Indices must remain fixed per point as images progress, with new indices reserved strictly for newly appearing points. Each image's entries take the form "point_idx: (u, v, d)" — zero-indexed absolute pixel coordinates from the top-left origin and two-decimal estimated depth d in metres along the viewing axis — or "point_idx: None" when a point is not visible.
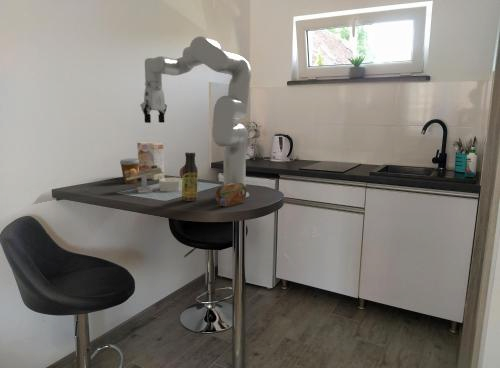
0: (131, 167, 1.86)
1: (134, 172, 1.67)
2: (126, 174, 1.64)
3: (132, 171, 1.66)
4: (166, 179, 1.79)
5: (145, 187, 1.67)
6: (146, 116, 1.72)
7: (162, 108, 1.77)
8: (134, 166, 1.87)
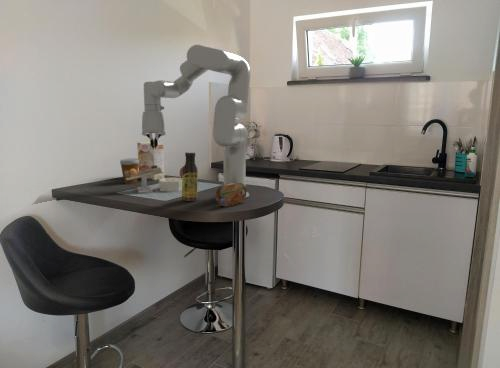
0: (131, 167, 1.86)
1: (134, 172, 1.67)
2: (126, 174, 1.64)
3: (132, 171, 1.66)
4: (166, 179, 1.79)
5: (145, 187, 1.67)
6: None
7: None
8: (134, 166, 1.87)
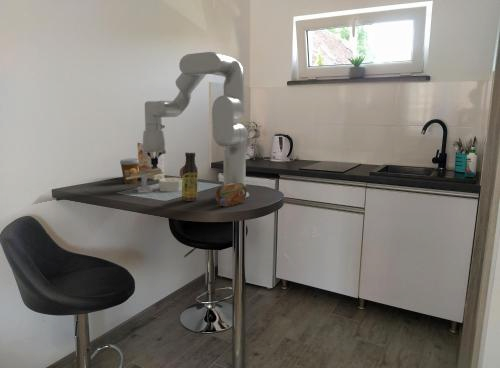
0: (131, 167, 1.86)
1: (134, 172, 1.67)
2: (126, 173, 1.64)
3: (132, 171, 1.66)
4: (166, 179, 1.79)
5: (145, 187, 1.67)
6: (157, 160, 1.79)
7: None
8: (134, 166, 1.87)
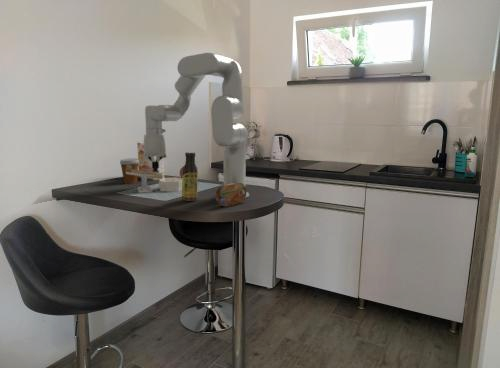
0: None
1: None
2: (128, 168, 1.64)
3: None
4: (166, 179, 1.79)
5: (145, 187, 1.67)
6: None
7: None
8: (134, 166, 1.87)
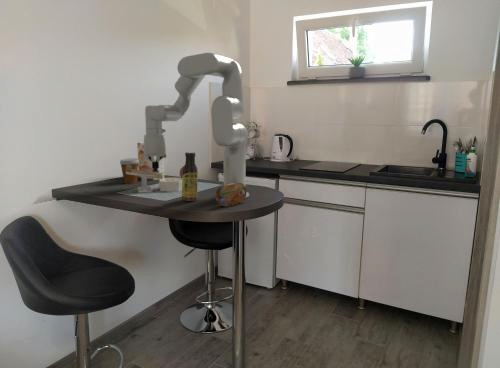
0: None
1: None
2: (128, 168, 1.64)
3: None
4: (166, 179, 1.79)
5: (145, 187, 1.67)
6: None
7: None
8: (134, 166, 1.87)
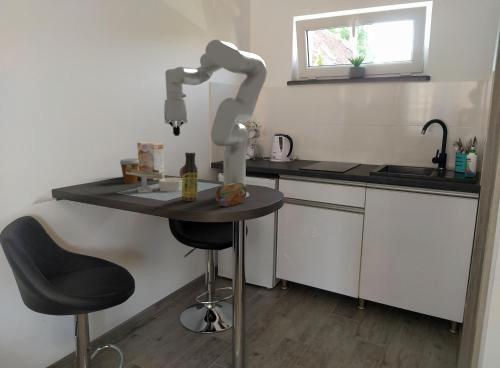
0: None
1: None
2: (128, 168, 1.64)
3: None
4: (166, 179, 1.79)
5: (145, 187, 1.67)
6: None
7: None
8: (134, 166, 1.87)
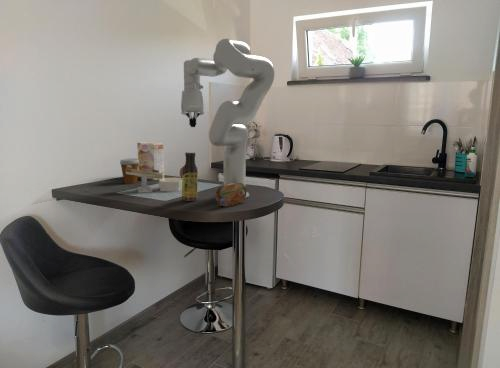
0: None
1: None
2: (128, 168, 1.64)
3: None
4: (166, 179, 1.79)
5: (145, 187, 1.67)
6: None
7: None
8: (134, 166, 1.87)
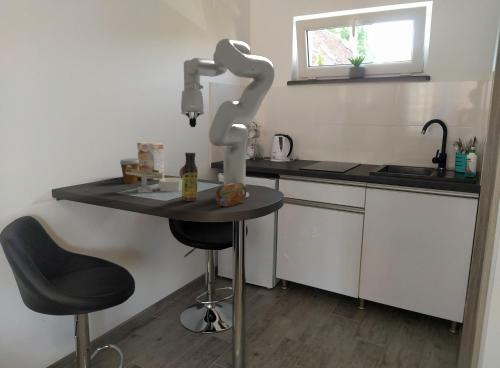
0: None
1: None
2: (128, 168, 1.64)
3: None
4: (166, 179, 1.79)
5: (145, 187, 1.67)
6: None
7: None
8: (134, 166, 1.87)
